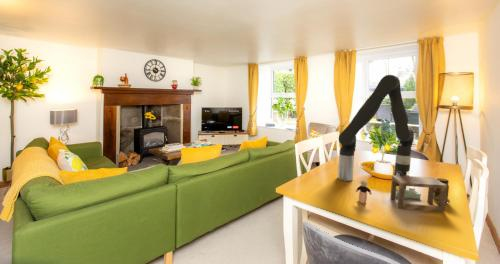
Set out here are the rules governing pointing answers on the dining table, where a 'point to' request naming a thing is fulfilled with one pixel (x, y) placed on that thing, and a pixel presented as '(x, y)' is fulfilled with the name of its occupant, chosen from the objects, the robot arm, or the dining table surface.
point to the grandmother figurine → (363, 192)
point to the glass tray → (409, 193)
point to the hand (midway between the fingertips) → (400, 188)
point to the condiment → (437, 191)
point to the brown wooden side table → (419, 182)
